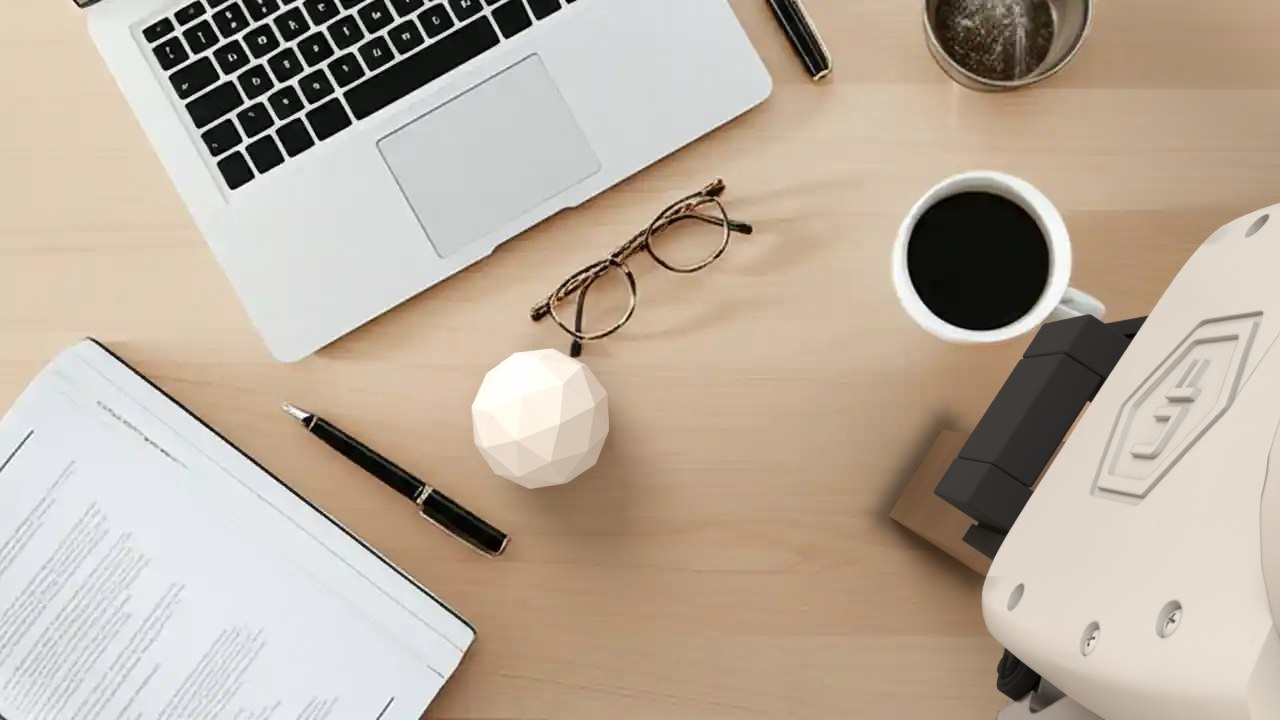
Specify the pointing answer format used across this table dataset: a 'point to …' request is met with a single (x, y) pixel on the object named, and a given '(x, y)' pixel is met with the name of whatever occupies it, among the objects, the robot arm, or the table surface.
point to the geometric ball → (540, 418)
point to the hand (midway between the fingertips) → (1081, 464)
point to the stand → (943, 503)
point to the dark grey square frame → (1030, 418)
